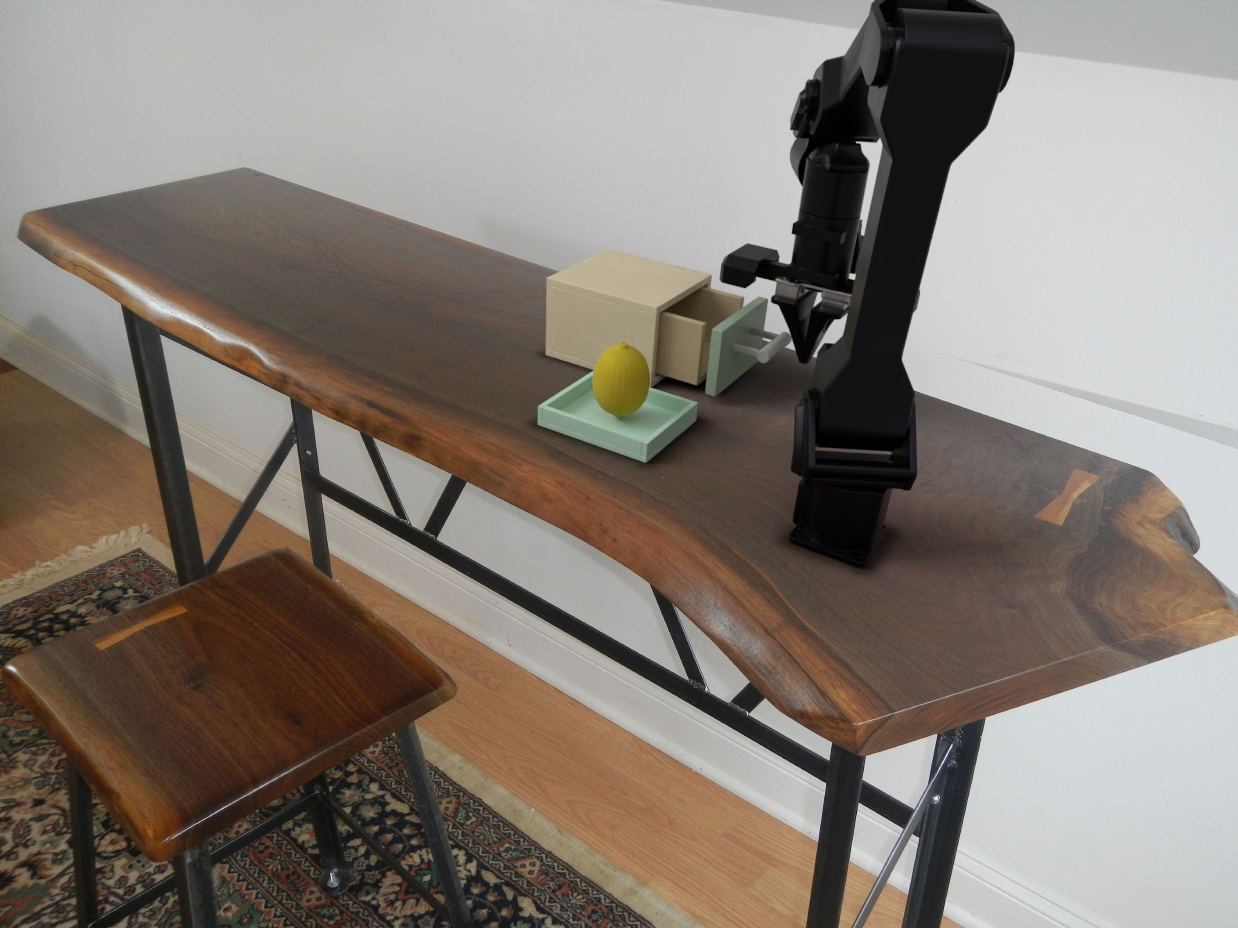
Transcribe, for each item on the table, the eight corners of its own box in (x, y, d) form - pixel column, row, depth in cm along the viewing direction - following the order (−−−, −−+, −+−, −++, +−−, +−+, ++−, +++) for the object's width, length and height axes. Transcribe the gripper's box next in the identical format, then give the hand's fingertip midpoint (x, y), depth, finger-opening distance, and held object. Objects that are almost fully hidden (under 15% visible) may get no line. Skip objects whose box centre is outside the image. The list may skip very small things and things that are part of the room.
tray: (696, 421, 95) (698, 402, 94) (646, 463, 88) (647, 443, 87) (593, 387, 101) (594, 369, 100) (537, 425, 93) (537, 406, 92)
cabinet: (704, 349, 111) (712, 274, 106) (650, 388, 101) (657, 307, 97) (604, 321, 116) (608, 248, 112) (545, 355, 107) (546, 277, 102)
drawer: (794, 370, 105) (805, 307, 101) (752, 408, 96) (761, 342, 93) (662, 332, 112) (667, 273, 108) (611, 365, 103) (614, 302, 100)
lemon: (647, 433, 92) (653, 357, 87) (589, 430, 91) (592, 353, 87) (646, 406, 96) (652, 333, 92) (592, 403, 96) (595, 329, 92)
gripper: (951, 211, 92) (916, 360, 100) (772, 176, 100) (753, 316, 108) (918, 239, 83) (883, 399, 91) (726, 199, 91) (709, 349, 99)
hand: (804, 362), depth 98 cm, fingers closed
